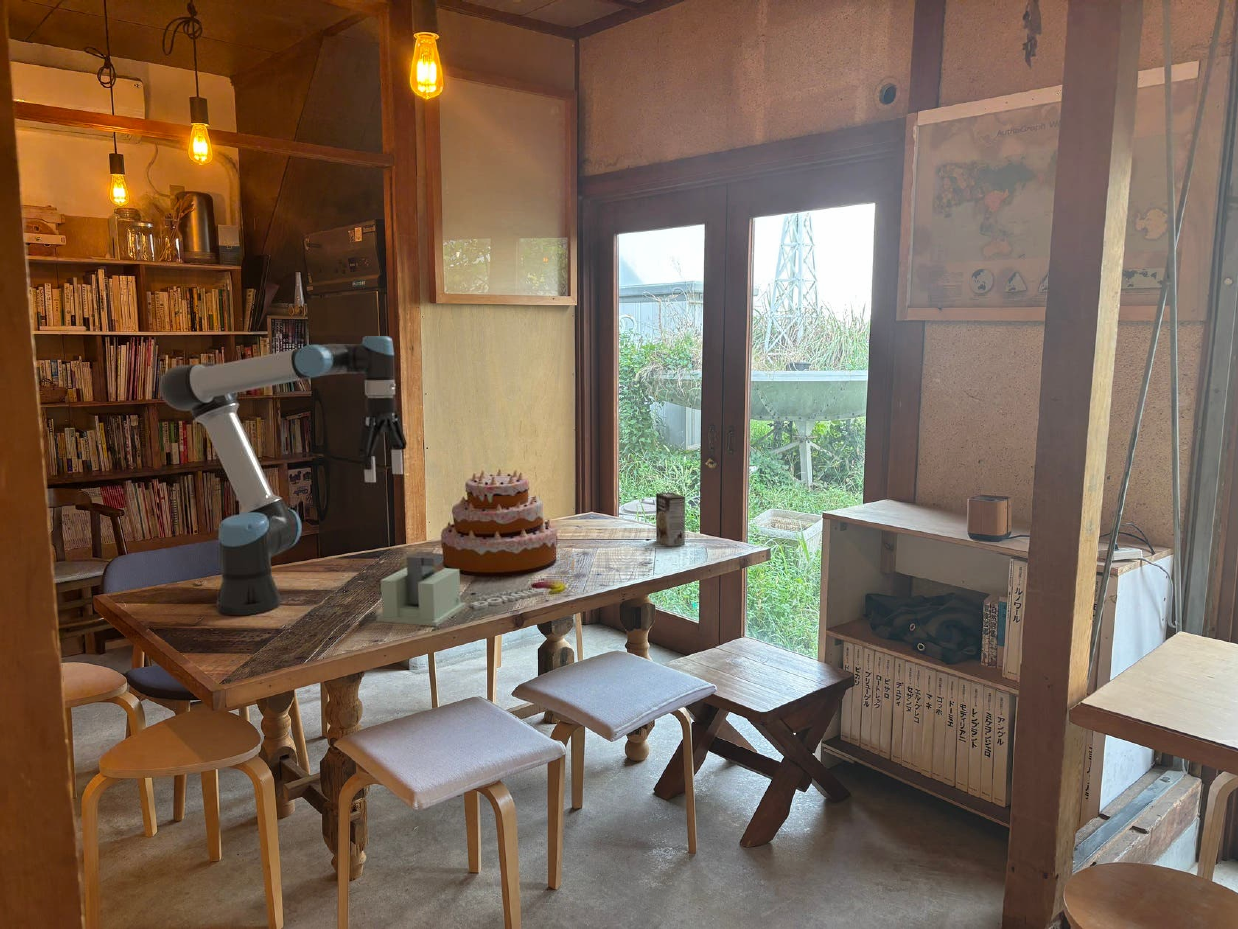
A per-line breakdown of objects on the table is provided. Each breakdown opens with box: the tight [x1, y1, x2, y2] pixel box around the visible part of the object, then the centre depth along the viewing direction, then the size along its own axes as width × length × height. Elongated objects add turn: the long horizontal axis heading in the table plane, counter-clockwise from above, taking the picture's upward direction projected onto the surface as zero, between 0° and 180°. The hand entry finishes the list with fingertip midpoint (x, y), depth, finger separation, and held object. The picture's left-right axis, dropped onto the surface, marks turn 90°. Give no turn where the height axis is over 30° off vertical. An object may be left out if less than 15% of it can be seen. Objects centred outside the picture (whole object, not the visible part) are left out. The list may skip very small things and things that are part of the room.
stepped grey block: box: [406, 551, 443, 607], centre depth 222 cm, size 7×6×14 cm
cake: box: [440, 468, 559, 578], centre depth 272 cm, size 35×35×28 cm
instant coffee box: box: [655, 492, 686, 547], centre depth 295 cm, size 9×6×16 cm
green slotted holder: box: [376, 566, 467, 627], centre depth 223 cm, size 16×16×10 cm
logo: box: [470, 580, 566, 611], centre depth 238 cm, size 29×1×10 cm
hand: (384, 478), depth 235 cm, fingers open, 13 cm apart
